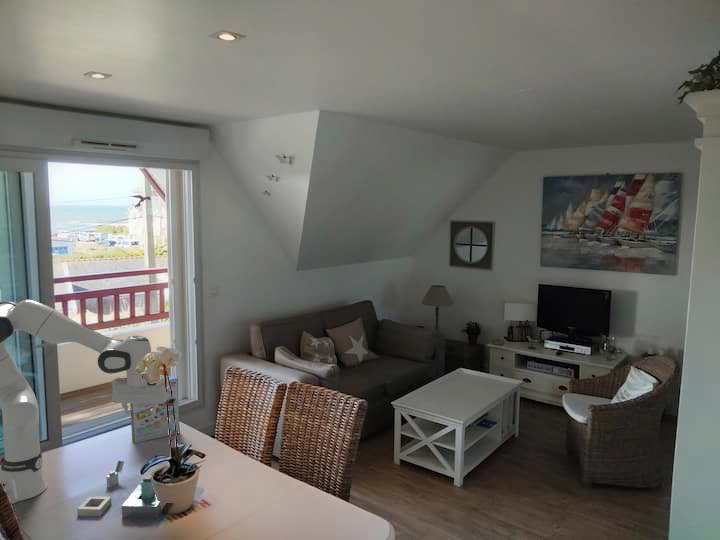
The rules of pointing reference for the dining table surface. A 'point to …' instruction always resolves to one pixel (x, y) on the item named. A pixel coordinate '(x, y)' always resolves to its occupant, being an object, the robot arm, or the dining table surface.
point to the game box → (155, 417)
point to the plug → (147, 488)
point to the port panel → (141, 506)
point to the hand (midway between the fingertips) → (140, 413)
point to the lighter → (114, 475)
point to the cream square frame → (94, 511)
